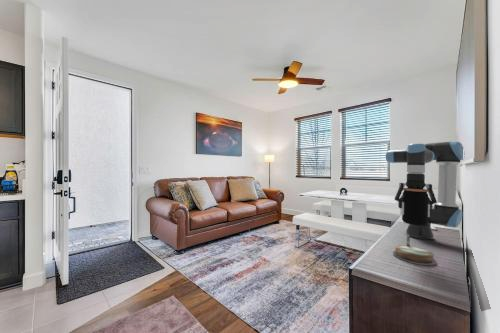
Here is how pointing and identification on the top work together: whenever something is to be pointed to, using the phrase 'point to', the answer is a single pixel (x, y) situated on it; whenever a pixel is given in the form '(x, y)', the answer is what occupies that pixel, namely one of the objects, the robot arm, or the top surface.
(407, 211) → the coffee jar
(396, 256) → the wheel base
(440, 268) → the top surface
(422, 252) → the index wheel
